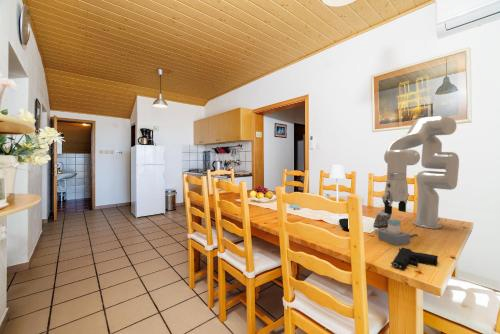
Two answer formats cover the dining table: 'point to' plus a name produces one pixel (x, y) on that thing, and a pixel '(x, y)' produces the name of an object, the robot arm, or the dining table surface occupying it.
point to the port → (394, 237)
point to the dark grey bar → (413, 235)
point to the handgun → (412, 259)
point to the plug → (394, 226)
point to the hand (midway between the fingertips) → (395, 212)
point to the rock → (382, 219)
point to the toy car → (344, 223)
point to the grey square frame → (378, 230)
